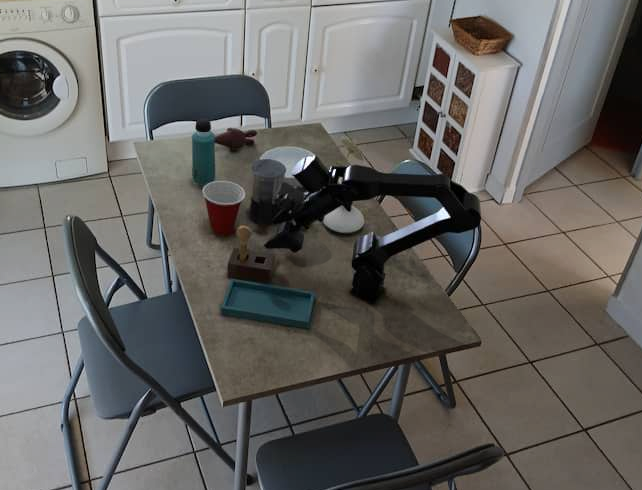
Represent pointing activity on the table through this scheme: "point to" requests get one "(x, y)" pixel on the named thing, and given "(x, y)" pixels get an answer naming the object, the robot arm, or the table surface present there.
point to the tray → (268, 303)
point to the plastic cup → (223, 205)
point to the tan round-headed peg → (243, 240)
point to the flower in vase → (341, 217)
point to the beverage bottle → (203, 153)
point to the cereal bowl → (288, 160)
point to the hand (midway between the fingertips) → (269, 234)
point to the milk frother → (265, 190)
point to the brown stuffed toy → (235, 138)
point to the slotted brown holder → (251, 266)
